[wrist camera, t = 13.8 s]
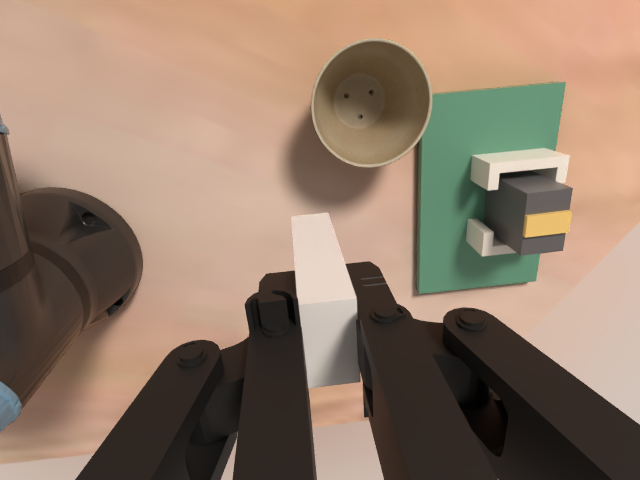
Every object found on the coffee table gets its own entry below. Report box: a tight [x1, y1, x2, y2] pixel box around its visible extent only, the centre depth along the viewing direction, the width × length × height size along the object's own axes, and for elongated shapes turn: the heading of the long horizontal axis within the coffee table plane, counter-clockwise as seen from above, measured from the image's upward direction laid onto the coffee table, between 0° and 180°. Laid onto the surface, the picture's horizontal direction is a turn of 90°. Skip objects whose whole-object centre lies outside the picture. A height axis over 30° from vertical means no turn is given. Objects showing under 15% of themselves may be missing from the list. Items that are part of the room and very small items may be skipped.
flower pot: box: [311, 38, 432, 168], centre depth 36 cm, size 10×10×7 cm
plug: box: [484, 170, 573, 256], centre depth 39 cm, size 4×6×8 cm, turn 6°
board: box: [416, 82, 570, 294], centre depth 41 cm, size 14×22×5 cm, turn 5°
